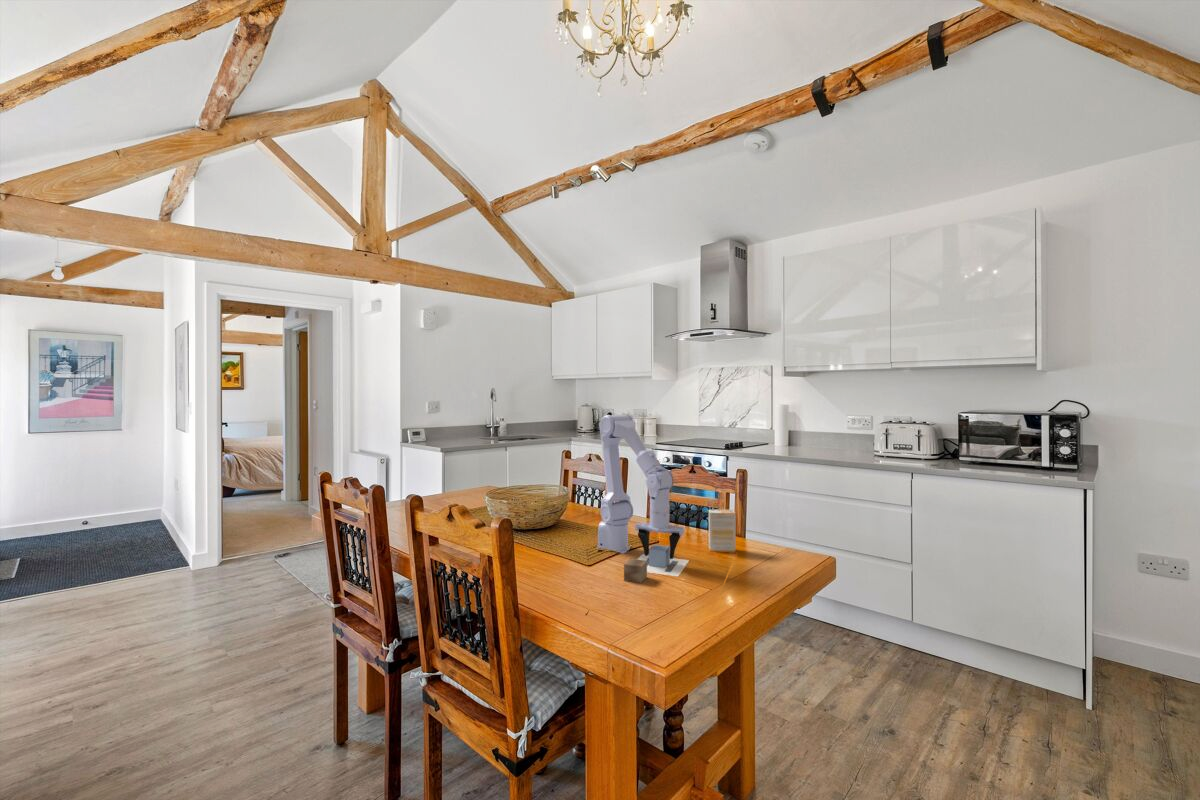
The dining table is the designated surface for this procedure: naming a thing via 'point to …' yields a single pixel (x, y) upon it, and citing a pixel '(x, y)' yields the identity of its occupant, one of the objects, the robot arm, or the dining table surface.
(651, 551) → the slate blue cube
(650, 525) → the robot arm
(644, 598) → the dining table surface
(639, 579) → the walnut block
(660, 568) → the letter board
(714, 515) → the supplement box
